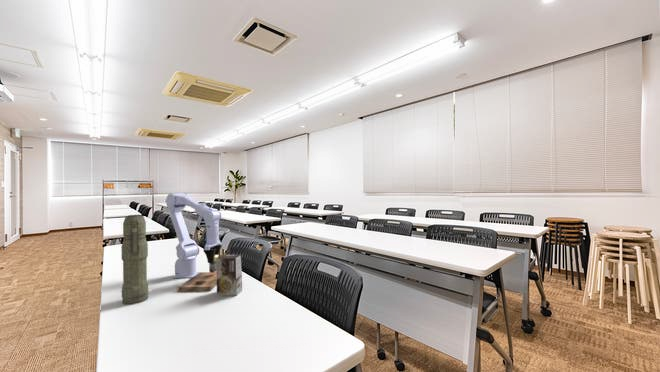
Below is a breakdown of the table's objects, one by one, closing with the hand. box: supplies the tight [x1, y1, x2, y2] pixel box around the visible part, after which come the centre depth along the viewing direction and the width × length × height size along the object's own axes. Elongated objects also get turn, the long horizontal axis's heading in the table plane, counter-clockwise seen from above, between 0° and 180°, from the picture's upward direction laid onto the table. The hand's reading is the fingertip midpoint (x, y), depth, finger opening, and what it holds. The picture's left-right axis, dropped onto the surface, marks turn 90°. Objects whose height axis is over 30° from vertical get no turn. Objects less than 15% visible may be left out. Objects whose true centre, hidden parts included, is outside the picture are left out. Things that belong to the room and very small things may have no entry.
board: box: [177, 271, 217, 293], centre depth 132 cm, size 14×21×2 cm, turn 1°
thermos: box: [120, 214, 149, 306], centre depth 112 cm, size 9×12×35 cm
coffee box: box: [216, 254, 243, 297], centre depth 119 cm, size 9×6×16 cm
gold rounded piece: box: [207, 253, 220, 272], centre depth 137 cm, size 5×5×9 cm
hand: (213, 261), depth 137 cm, fingers closed on gold rounded piece, 5 cm apart
